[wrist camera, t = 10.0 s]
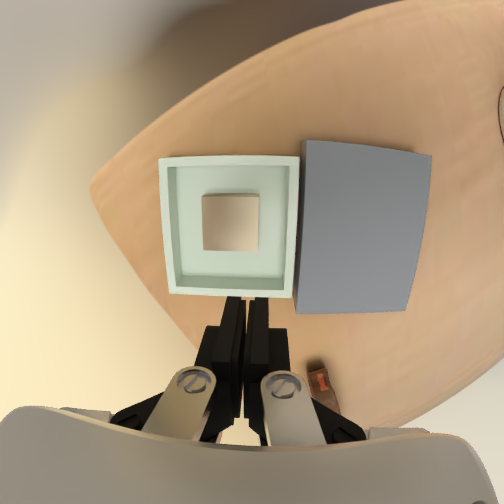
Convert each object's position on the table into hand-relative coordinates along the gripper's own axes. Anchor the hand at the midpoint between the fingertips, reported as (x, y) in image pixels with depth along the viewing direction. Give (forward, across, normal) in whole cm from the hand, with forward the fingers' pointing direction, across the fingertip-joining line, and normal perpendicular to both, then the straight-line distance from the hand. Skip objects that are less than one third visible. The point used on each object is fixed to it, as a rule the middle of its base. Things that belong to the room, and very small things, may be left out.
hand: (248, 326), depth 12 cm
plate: (+17, -10, 0) cm, 20 cm away
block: (+14, +2, 0) cm, 15 cm away
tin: (+17, -10, +24) cm, 31 cm away
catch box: (+17, +3, 0) cm, 17 cm away
